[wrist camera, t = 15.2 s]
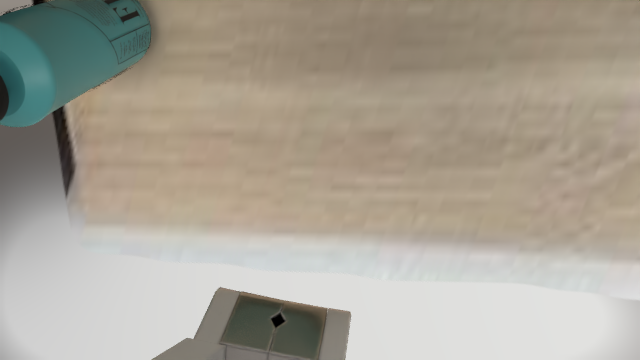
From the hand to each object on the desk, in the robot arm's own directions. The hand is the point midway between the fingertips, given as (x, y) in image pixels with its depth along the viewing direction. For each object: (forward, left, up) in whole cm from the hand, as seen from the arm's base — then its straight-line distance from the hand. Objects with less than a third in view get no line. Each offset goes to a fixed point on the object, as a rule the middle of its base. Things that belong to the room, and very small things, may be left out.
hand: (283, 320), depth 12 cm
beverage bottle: (+20, +2, -34) cm, 40 cm away
